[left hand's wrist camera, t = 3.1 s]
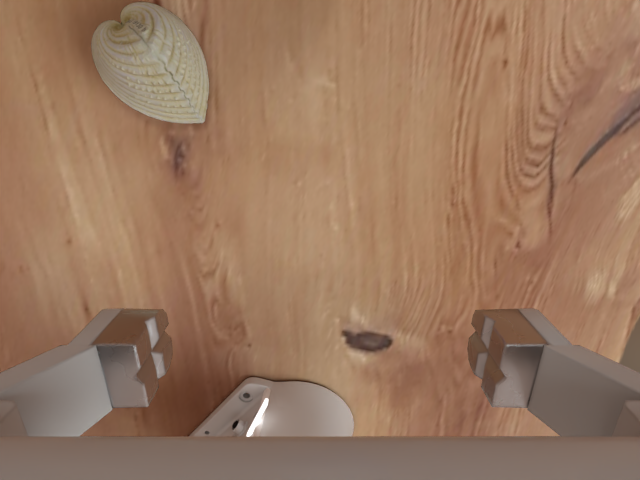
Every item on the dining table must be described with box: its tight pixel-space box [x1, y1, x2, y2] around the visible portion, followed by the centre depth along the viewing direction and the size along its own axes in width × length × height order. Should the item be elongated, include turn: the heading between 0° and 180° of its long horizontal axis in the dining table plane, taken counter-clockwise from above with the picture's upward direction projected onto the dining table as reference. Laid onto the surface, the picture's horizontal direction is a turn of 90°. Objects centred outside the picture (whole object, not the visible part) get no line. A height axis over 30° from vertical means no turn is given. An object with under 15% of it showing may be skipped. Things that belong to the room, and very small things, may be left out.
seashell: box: [91, 2, 209, 123], centre depth 31 cm, size 8×8×8 cm
